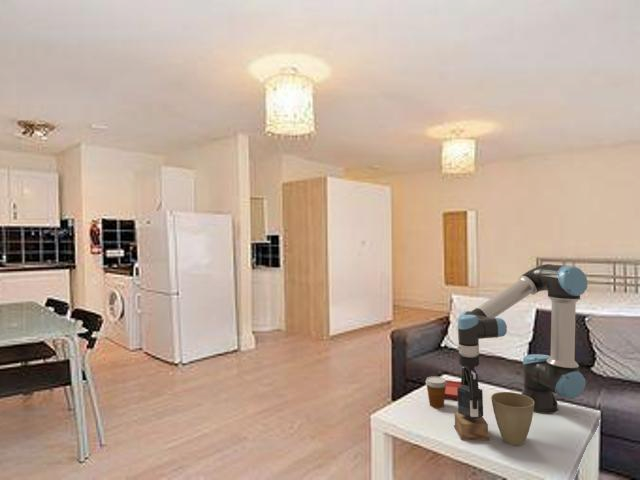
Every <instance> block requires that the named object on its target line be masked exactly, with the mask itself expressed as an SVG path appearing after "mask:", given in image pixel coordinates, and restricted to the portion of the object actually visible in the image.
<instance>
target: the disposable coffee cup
mask: <svg viewBox="0 0 640 480" xmlns="http://www.w3.org/2000/svg"><path fill="white" fill-rule="evenodd" d="M425 384H426V388H427V389H426V390H427V394H428V401H429V402H428V403H429V406H430V407H431V408H433V409H441V408H444V406H445V399H446V398H445V389H446V384H447V382H446V378H444V377H441V376H428V377H427V378H426V380H425Z"/></svg>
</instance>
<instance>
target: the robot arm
mask: <svg viewBox="0 0 640 480" xmlns="http://www.w3.org/2000/svg"><path fill="white" fill-rule="evenodd" d="M588 285H589V283H588V278H587V275H586V274H585V272H584V271H582V269H580V268H578V267H576V266H572V265H563V264H562V265H561V264H560V265H559V264H551V263H549V264H548V263H545V264H541V265H539V266H536V267H533V268H532V269H530V270H528V271H526V272H524V273H523V274H522V275H520V276H519V277H518V280H516V281H515V282H514V283H512V284H510V285H509V286H507V287H506V288H505V289H503V290H502V291H500V292H499V293H497V294H495V295H494V296H492V297H491V298H489V299H487V300H486V301H485V302H483V303H482V304H481V305H479V306H477V307H476V308H474V309H473V310H471V311H470V310H465V311H462V312H461V313H460V314H459V316H458V319H457V336H458V346H457V349H458V353H459V354H458V363H459V365H460V366H461V375H460V376H461V378H460V382H461V385H462V386H463V385H469V390H470V396H471V399H469V401H470V416H471V417H478V401H480V397H479V389H480V388H479V374H478V373H477V371H476V370H475V367H479V365H480V356H479V354H480V344H479V343H480V341H479V340H480V339H481V340H482V339H493V338H495V339H496V338H500V337H504V336H506V334H507V331H508V326H507V323H506V321H505V320H504V319H503V318H501V317H498V316H499V315H501V314H503V313H504V312H506V311H507V310H509V309H510V308H512V307H513V306H515V305H516V304H517V303H519V302H520V301H523V300H525V298H527V297H529V296H530V295H536V294H538V293H539V292H543V291H544V292H545V291H546V292H547V297H548V299H550V301H551V313H550V315H551V317H550V318H551V323H550V328H551V329H550V355H548V354H540V353H536V354H535V353H533V354H532V353H531V354H527V355H524V356H523V358H522V377H523V379H522V380H523V381H522V382H523V389H522V391H521V394H522V395H525V396H528V397H530V398H531V399H533V400H534V402H535V403H534V411H533V413H539V414H552V413H553V414H554V413H556V412H557V411H558V410H559V408H558V401H557V398H556V396H555V394H556V395H557V396H559V397H563V398H566V399H568V400H569V399H572V400H573V399H575V398H577V397H579V396H580V395H581V394H582V393H583V392H584V391H585V387H586V378H585V376H584V375H583V374H582V373H581V371H579V370H580V369H579V367H580V364H578V363H577V361H575V358H576V357H575V353H576V352H575V351H576V350H575V349H576V346H575V345H576V304H577V302H578V301H580V300H581V295H583V294H584V293H585V291H587V289H588ZM554 393H555V394H554Z"/></svg>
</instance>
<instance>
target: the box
mask: <svg viewBox="0 0 640 480" xmlns="http://www.w3.org/2000/svg"><path fill="white" fill-rule="evenodd" d="M457 392H458V400H457V411H458V412H457V413H460V414H462V415H465V416H467V417H470V418H472V419H474V420H475V419H478V418H480V417H484V402H483V401H484V399H483V398H484V397H483V395H484V394H483V389H481V388H479V397H480V401H478V417H471V416H470V401H469V399H471V396H470V390H469V385H463V386H460V387H458V388H457Z"/></svg>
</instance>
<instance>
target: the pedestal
mask: <svg viewBox="0 0 640 480" xmlns="http://www.w3.org/2000/svg"><path fill="white" fill-rule="evenodd" d="M453 428H454V430H455V431H456V433H457V436H458V437H459V439H460V440H461V441H490V437H489V423H488V422H487V421H486V420H485V418H484V416H482V417H480V418H478V419H475V420H474V419H472V418H470V417H467V416H465V415H462V414H460V413H458V412H454V425H453Z"/></svg>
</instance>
